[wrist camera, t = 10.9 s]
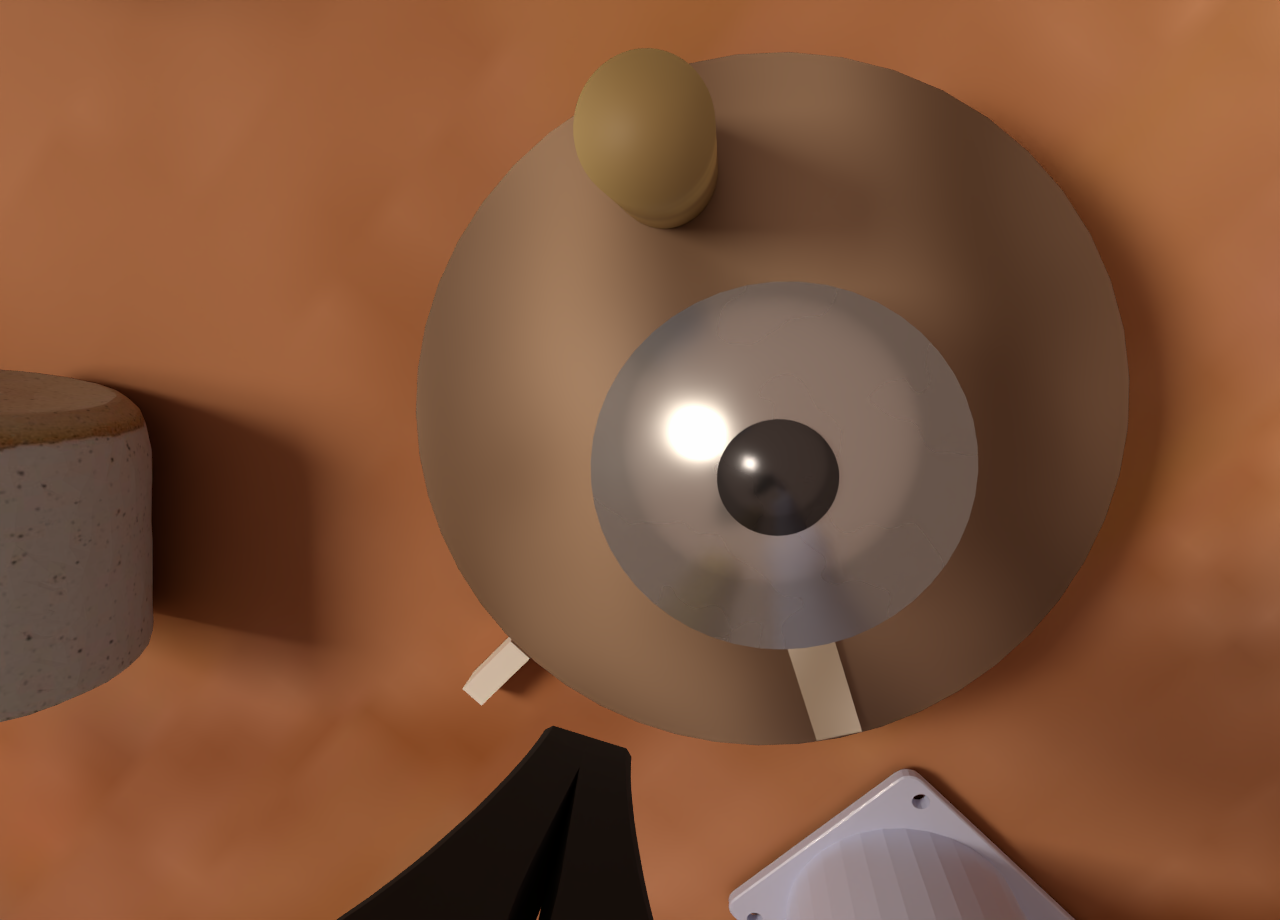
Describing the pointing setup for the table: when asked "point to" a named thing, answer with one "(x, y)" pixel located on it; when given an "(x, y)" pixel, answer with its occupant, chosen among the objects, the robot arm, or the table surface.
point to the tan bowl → (745, 255)
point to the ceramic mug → (71, 538)
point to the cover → (784, 465)
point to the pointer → (495, 671)
